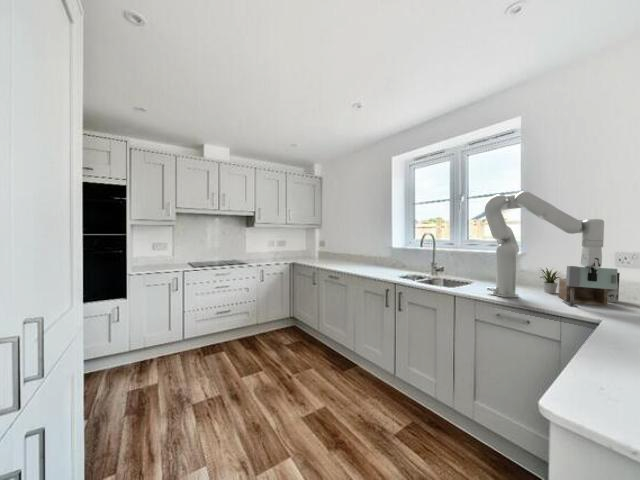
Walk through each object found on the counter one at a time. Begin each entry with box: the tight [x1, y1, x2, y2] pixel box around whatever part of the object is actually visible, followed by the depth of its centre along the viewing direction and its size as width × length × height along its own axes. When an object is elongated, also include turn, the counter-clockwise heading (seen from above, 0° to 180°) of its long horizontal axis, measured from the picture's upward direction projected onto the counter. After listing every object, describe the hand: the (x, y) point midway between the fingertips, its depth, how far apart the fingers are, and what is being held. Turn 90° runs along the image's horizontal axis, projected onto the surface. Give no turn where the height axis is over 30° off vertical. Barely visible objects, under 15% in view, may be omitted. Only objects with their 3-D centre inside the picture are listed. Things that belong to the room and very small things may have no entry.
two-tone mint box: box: [565, 265, 618, 290], centre depth 134 cm, size 18×4×10 cm, turn 63°
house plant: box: [537, 267, 563, 294], centre depth 168 cm, size 14×14×16 cm
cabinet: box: [558, 277, 608, 308], centre depth 142 cm, size 18×22×11 cm
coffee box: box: [607, 272, 620, 303], centre depth 149 cm, size 9×6×16 cm
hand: (591, 280), depth 134 cm, fingers closed on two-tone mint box, 2 cm apart
